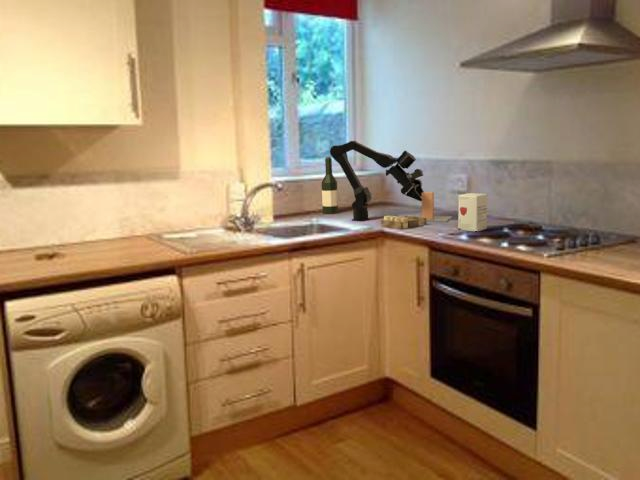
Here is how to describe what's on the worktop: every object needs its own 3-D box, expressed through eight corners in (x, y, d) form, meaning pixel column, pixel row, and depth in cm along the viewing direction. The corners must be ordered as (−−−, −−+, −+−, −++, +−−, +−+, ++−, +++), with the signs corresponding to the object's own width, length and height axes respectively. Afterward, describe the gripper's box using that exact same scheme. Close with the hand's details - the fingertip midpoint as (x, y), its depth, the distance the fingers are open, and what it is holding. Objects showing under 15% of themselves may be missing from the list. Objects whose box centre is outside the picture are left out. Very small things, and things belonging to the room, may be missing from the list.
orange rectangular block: (421, 218, 284) (421, 192, 281) (423, 217, 286) (423, 192, 284) (432, 218, 282) (432, 193, 279) (434, 217, 284) (433, 192, 282)
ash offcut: (384, 226, 269) (384, 216, 268) (389, 225, 271) (388, 215, 270) (392, 227, 265) (392, 217, 264) (397, 226, 267) (397, 216, 266)
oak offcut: (394, 227, 264) (394, 217, 263) (399, 226, 266) (399, 216, 265) (403, 228, 260) (403, 218, 259) (408, 228, 262) (407, 217, 261)
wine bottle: (321, 212, 330) (319, 157, 325) (337, 211, 331) (335, 156, 325) (323, 214, 322) (321, 157, 316) (339, 213, 323) (337, 156, 317)
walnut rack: (381, 229, 268) (381, 220, 268) (406, 224, 278) (406, 215, 277) (401, 231, 259) (401, 222, 258) (426, 226, 269) (426, 217, 268)
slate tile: (403, 223, 282) (403, 220, 282) (410, 218, 294) (410, 215, 294) (446, 224, 274) (446, 220, 274) (452, 219, 287) (452, 216, 286)
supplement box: (457, 230, 258) (457, 195, 255) (468, 227, 264) (468, 192, 261) (476, 231, 251) (476, 195, 249) (487, 228, 258) (487, 193, 255)
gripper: (407, 164, 274) (431, 189, 271) (417, 162, 290) (440, 185, 288) (390, 182, 278) (414, 206, 276) (401, 178, 295) (424, 201, 293)
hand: (424, 199), depth 283 cm, fingers open, 9 cm apart
